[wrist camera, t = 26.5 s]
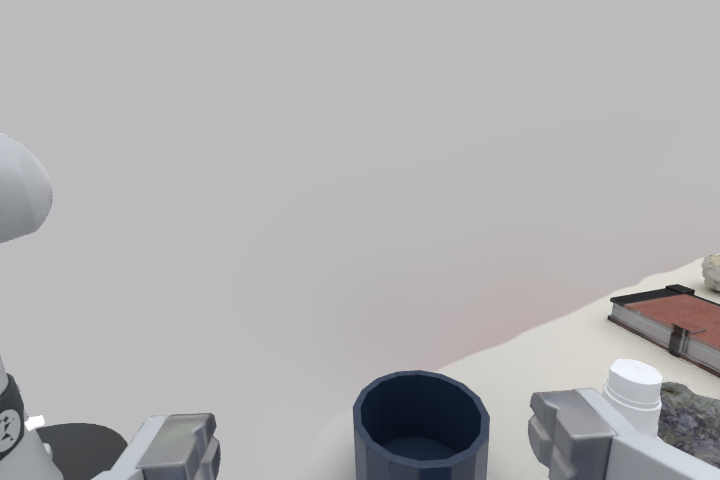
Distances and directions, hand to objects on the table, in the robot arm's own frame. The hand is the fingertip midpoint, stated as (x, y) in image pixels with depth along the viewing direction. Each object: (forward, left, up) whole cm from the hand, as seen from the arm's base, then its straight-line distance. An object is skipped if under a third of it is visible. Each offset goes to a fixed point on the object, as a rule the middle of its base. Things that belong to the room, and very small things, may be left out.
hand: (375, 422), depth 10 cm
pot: (+6, +24, -30) cm, 39 cm away
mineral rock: (+33, +26, -30) cm, 52 cm away
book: (+60, +46, -30) cm, 82 cm away
